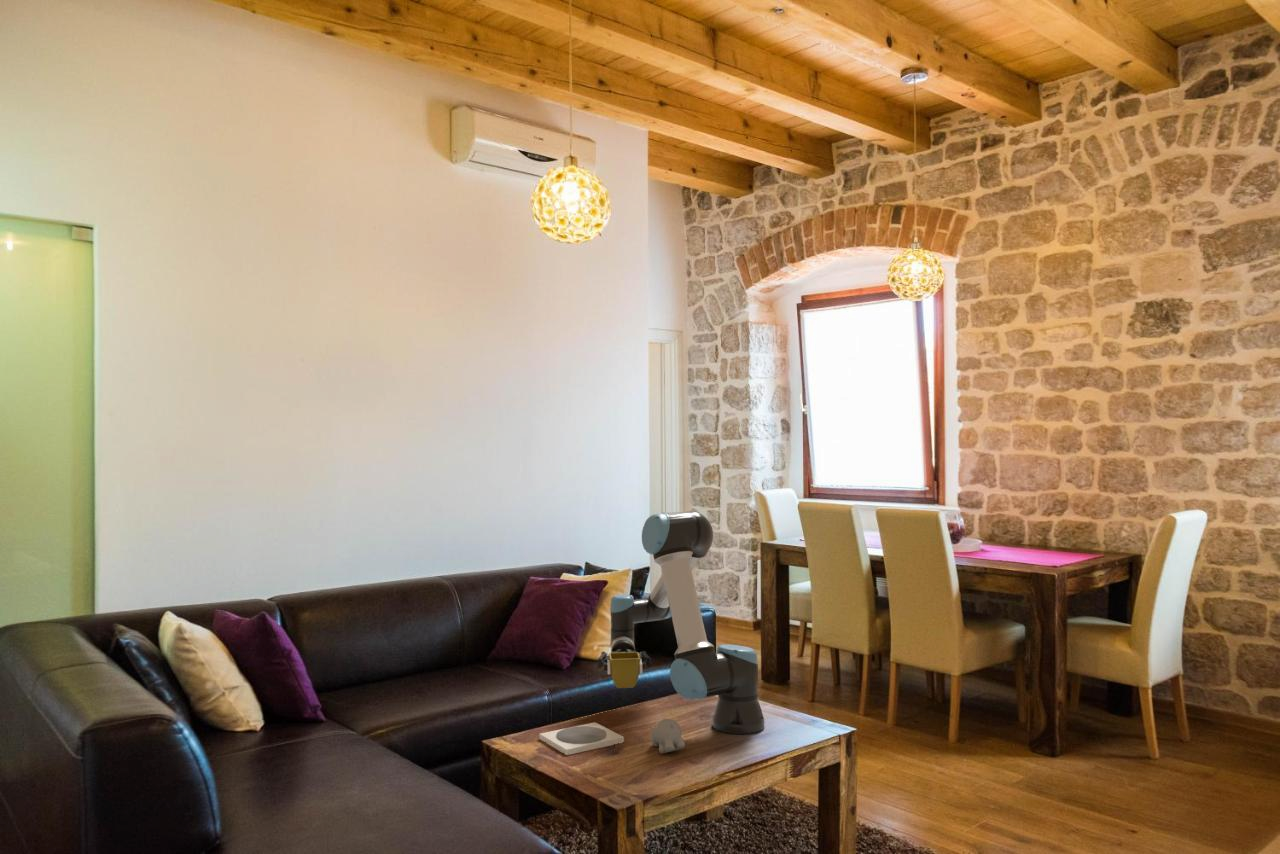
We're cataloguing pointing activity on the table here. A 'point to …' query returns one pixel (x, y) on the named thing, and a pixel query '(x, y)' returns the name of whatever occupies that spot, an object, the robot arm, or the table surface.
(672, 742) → the hippopotamus figurine
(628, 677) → the flower pot
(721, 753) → the table surface
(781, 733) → the table surface
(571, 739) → the tile stand
